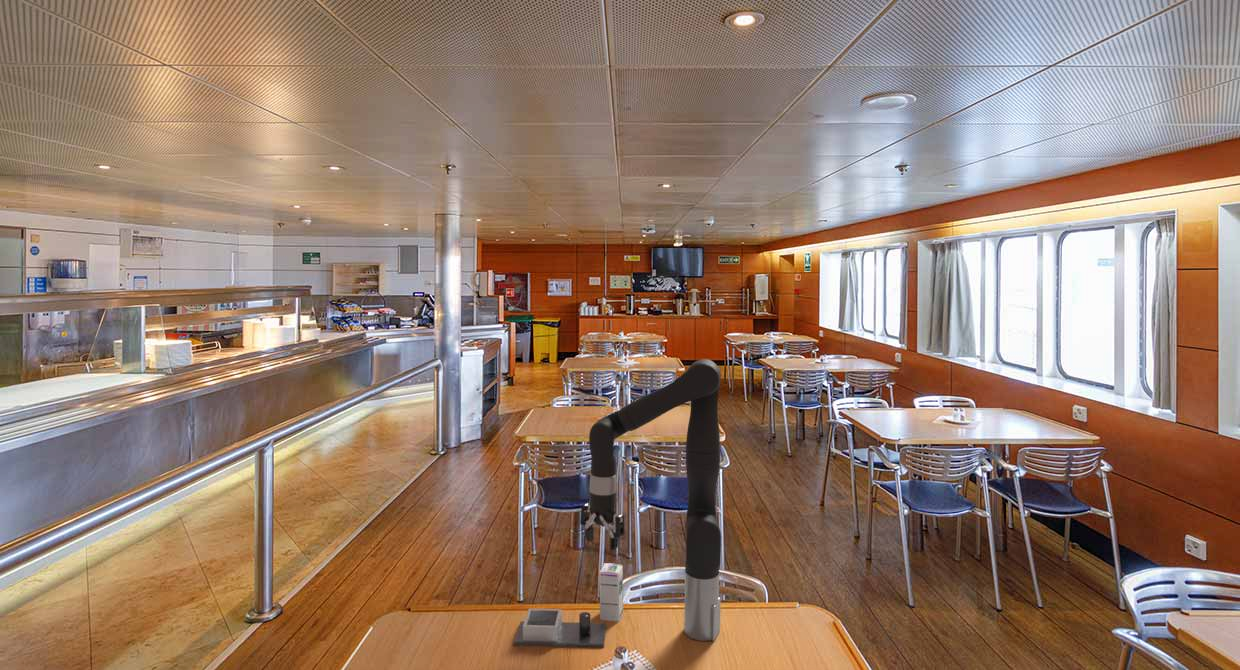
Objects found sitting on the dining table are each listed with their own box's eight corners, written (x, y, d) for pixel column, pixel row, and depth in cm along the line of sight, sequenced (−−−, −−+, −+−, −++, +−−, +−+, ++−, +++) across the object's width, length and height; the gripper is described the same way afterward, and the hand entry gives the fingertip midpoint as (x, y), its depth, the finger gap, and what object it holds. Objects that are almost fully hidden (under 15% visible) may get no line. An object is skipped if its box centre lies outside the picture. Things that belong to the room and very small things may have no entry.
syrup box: (619, 622, 178) (619, 573, 176) (599, 620, 179) (599, 571, 178) (623, 612, 183) (623, 564, 182) (603, 609, 184) (603, 562, 183)
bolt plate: (606, 626, 175) (606, 606, 175) (604, 647, 165) (604, 625, 165) (520, 624, 176) (520, 604, 176) (513, 645, 166) (513, 623, 166)
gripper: (631, 492, 174) (629, 548, 176) (592, 480, 183) (591, 534, 185) (614, 499, 168) (612, 557, 170) (575, 486, 177) (573, 542, 179)
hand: (601, 545), depth 177 cm, fingers open, 8 cm apart
